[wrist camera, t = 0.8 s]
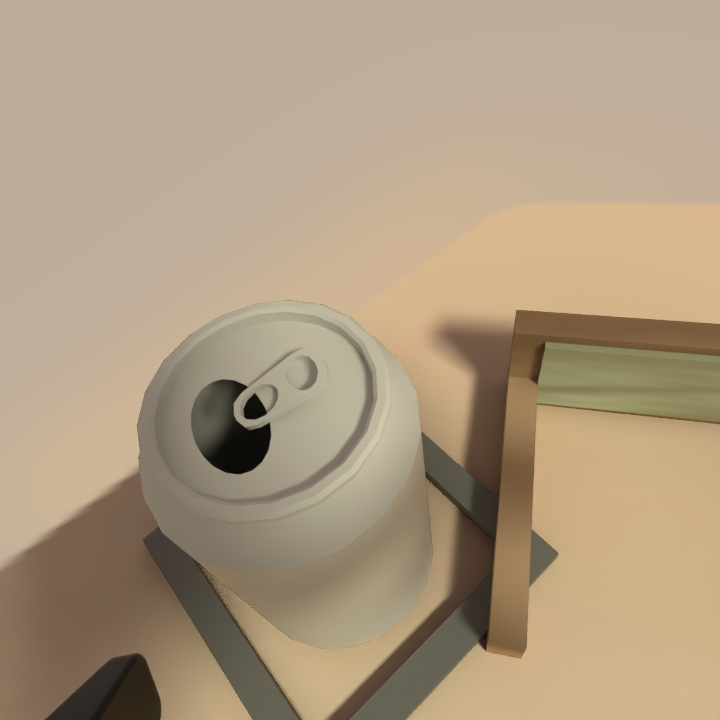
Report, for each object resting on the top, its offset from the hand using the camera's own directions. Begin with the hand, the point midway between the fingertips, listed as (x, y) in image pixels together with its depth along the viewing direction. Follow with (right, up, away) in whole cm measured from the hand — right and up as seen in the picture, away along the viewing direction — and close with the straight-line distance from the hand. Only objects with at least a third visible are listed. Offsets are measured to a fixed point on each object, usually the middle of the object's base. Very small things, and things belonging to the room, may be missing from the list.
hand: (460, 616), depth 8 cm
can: (-2, -4, +15) cm, 16 cm away
